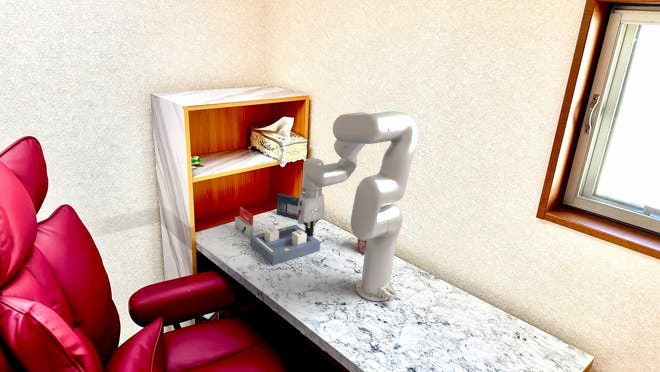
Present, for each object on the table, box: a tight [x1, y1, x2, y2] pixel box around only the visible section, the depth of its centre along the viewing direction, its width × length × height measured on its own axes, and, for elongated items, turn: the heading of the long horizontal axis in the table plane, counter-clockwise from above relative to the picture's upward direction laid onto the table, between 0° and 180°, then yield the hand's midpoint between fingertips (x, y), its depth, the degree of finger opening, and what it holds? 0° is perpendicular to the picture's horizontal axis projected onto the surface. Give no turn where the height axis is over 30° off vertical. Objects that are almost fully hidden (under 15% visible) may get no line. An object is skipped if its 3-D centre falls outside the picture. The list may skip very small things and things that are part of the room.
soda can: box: [356, 238, 367, 255], centre depth 168 cm, size 7×7×12 cm
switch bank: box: [249, 224, 321, 266], centre depth 166 cm, size 17×21×4 cm
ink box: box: [234, 205, 254, 239], centre depth 175 cm, size 2×11×10 cm, turn 40°
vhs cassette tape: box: [276, 193, 300, 221], centre depth 191 cm, size 18×3×10 cm, turn 64°
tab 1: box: [264, 227, 279, 243], centre depth 165 cm, size 4×4×6 cm
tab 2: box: [292, 230, 307, 245], centre depth 165 cm, size 4×4×6 cm
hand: (309, 235), depth 168 cm, fingers closed
